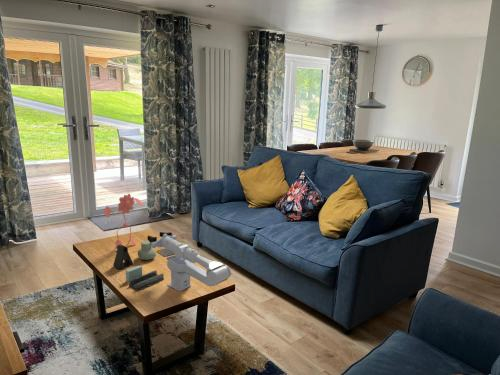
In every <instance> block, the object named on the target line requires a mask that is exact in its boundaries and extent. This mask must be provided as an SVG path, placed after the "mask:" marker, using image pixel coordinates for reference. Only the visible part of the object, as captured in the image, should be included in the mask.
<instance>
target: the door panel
mask: <svg viewBox="0 0 500 375" xmlns="http://www.w3.org/2000/svg"><path fill="white" fill-rule="evenodd" d="M142 275H143V267H142V266H141V265H136V266H134V267H131V268H128V269H125V281H126V282H127V283H129V280H132V279H135V278H137V277H140V276H142Z"/></svg>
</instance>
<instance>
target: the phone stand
mask: <svg viewBox="0 0 500 375" xmlns="http://www.w3.org/2000/svg"><path fill="white" fill-rule="evenodd" d="M120 245H121V244H120ZM120 245H118V246H117V248H116V252H115V253H116V254H115V257H114V261H113V263H112V264H113V265H112V267H113V268H114V269H118V271H119V270H123V269H126V268H129V267H131V266H134V263H133V260H132V257H131V256H130V252H129V248H128V247H127V246H125V245H123V244H122V245H121V246H120Z"/></svg>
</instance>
